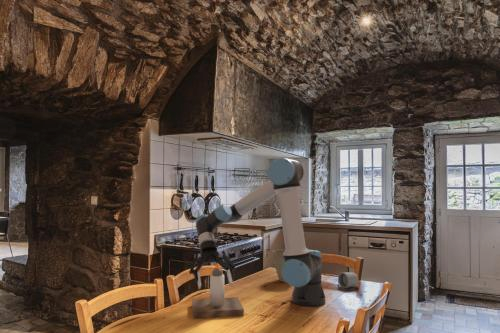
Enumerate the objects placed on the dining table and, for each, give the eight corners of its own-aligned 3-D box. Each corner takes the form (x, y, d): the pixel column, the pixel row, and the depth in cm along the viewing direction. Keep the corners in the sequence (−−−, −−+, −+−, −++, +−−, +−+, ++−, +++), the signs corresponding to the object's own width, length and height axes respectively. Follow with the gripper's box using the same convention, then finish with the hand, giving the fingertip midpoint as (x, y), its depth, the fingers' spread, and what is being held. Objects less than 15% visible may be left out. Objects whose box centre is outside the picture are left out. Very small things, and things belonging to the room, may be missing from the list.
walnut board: (237, 302, 159) (237, 297, 159) (243, 315, 143) (243, 309, 143) (192, 305, 155) (192, 299, 155) (193, 318, 140) (193, 312, 140)
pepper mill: (223, 301, 153) (223, 266, 154) (224, 306, 147) (225, 269, 148) (209, 302, 152) (209, 267, 153) (210, 306, 146) (210, 270, 147)
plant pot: (304, 283, 192) (303, 253, 193) (277, 285, 188) (277, 254, 189) (293, 276, 206) (293, 248, 207) (269, 278, 202) (269, 249, 203)
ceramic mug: (360, 287, 184) (359, 272, 184) (348, 289, 180) (347, 274, 180) (345, 283, 193) (345, 268, 194) (334, 285, 189) (333, 270, 190)
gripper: (231, 247, 172) (241, 287, 157) (179, 250, 163) (185, 293, 148) (235, 238, 167) (245, 278, 153) (181, 240, 159) (187, 283, 144)
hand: (215, 285), depth 151 cm, fingers open, 13 cm apart
